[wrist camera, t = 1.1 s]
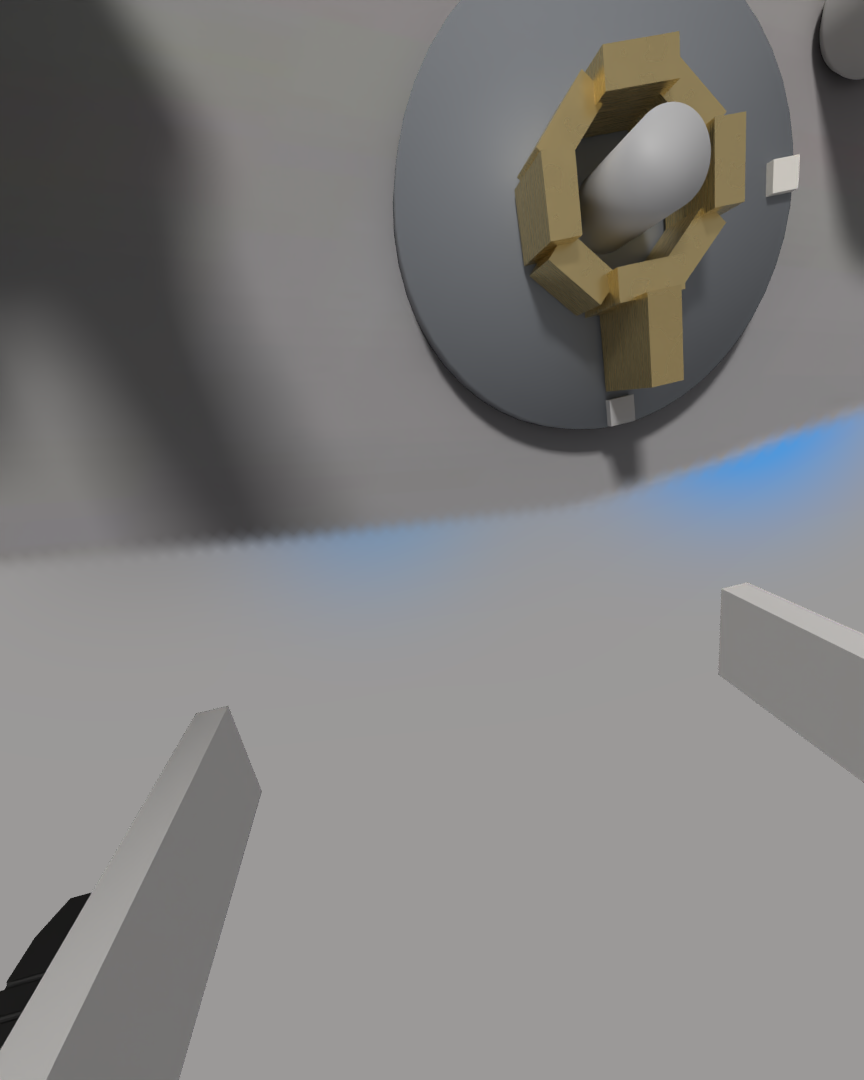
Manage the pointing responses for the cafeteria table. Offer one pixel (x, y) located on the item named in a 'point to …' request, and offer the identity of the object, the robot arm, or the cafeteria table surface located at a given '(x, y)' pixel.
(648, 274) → the ring nut
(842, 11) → the beverage can
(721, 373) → the cafeteria table surface
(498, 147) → the flange
